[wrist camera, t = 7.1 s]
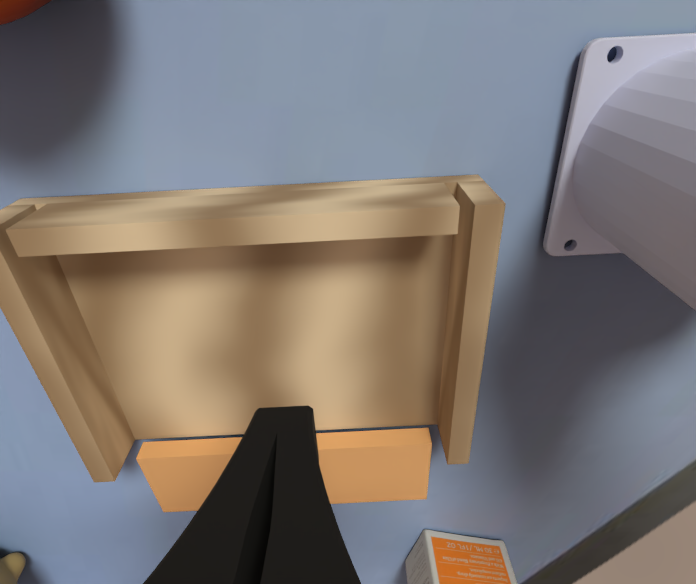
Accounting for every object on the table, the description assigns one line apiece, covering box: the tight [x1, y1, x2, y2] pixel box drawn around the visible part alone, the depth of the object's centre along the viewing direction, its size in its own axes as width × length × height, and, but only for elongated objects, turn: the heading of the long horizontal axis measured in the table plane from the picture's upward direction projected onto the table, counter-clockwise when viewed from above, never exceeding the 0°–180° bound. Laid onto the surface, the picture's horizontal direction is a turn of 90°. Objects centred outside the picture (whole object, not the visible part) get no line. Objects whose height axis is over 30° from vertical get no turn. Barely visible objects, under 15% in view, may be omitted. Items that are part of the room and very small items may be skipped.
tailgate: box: [136, 428, 432, 512], centre depth 25 cm, size 15×2×5 cm
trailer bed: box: [0, 175, 505, 482], centre depth 19 cm, size 18×13×3 cm
